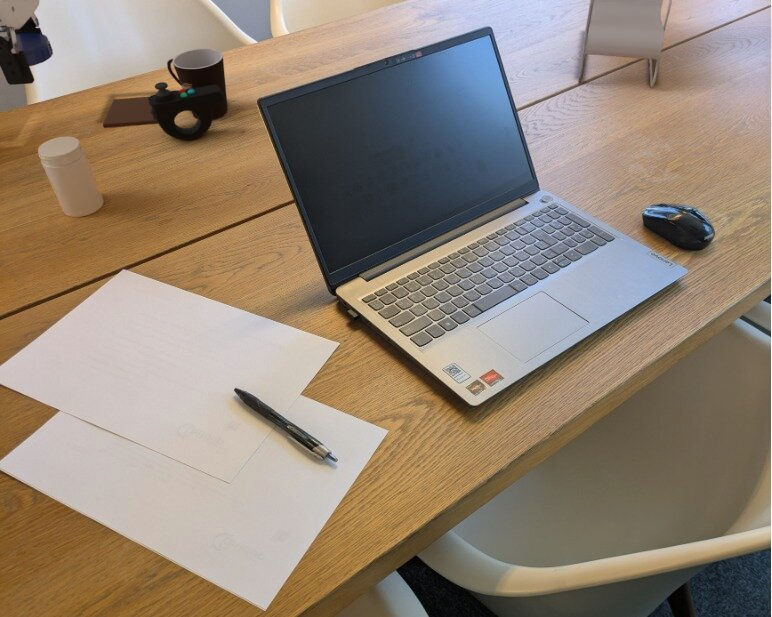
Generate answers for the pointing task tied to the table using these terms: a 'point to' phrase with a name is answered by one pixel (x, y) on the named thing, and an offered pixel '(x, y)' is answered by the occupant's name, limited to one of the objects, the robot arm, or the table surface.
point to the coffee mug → (201, 73)
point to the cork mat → (129, 112)
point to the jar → (71, 176)
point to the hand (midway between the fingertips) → (30, 69)
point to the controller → (185, 108)
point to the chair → (625, 30)
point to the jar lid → (34, 47)
